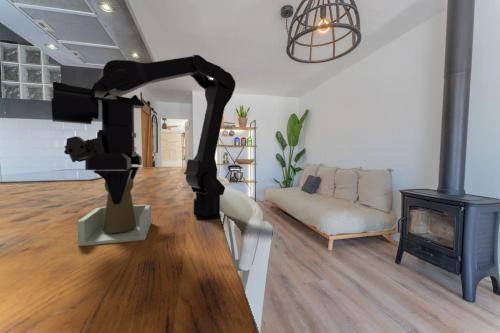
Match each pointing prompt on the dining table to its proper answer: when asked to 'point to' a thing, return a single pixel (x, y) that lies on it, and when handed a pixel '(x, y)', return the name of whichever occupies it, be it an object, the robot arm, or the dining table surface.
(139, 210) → the u rest
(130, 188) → the cork
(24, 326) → the dining table surface
